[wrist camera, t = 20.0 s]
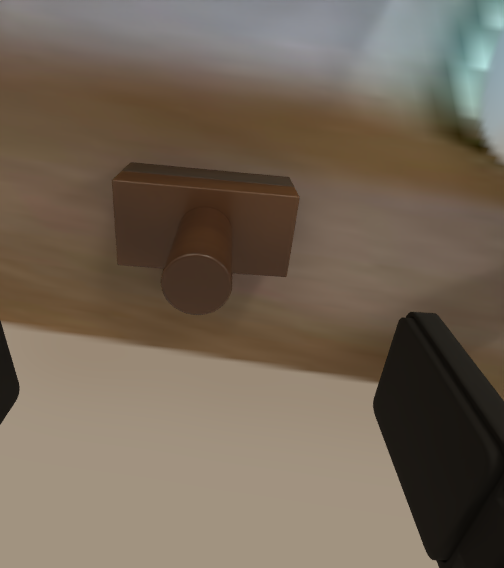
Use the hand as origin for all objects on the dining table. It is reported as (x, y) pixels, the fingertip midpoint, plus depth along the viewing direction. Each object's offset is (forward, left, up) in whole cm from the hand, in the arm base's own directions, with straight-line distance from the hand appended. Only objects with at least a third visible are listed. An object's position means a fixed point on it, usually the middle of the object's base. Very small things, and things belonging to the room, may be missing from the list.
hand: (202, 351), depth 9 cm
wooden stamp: (+1, 0, -13) cm, 13 cm away
